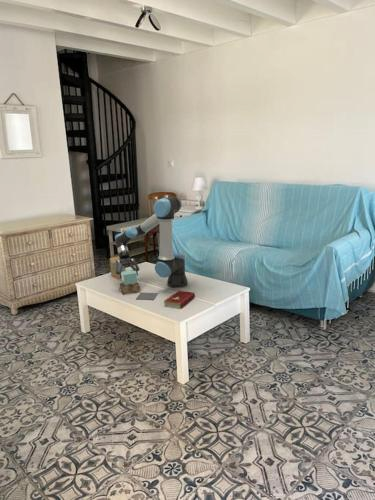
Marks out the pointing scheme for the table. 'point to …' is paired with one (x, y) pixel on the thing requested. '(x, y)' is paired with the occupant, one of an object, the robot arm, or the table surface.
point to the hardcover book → (179, 299)
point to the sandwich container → (113, 267)
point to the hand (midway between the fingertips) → (130, 280)
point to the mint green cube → (129, 277)
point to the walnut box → (129, 288)
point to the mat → (146, 296)
